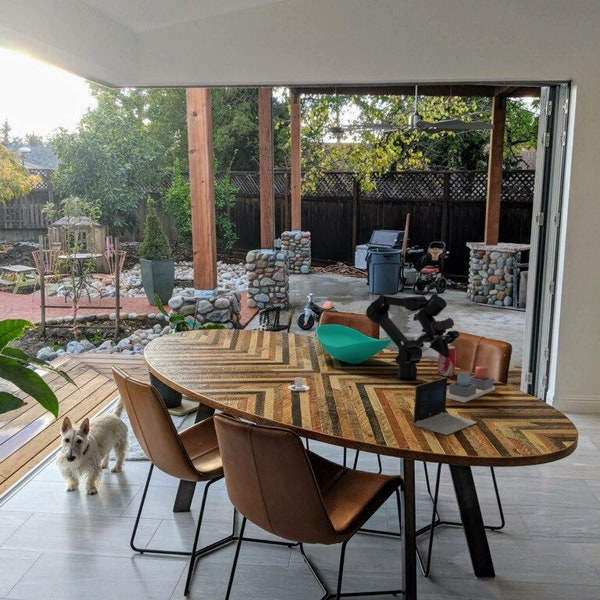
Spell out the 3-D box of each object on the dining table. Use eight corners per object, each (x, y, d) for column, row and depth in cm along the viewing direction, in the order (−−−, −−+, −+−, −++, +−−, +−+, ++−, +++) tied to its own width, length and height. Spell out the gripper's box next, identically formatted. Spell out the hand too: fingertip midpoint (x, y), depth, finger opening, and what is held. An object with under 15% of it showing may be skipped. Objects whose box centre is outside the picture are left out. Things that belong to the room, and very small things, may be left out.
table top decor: (406, 367, 278) (408, 337, 276) (358, 375, 261) (360, 343, 260) (346, 349, 309) (347, 322, 307) (299, 355, 293) (300, 327, 291)
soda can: (454, 377, 264) (457, 349, 262) (437, 376, 266) (439, 347, 264) (454, 373, 271) (456, 345, 269) (437, 372, 272) (439, 344, 271)
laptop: (446, 436, 196) (449, 395, 194) (412, 425, 204) (415, 385, 202) (477, 424, 208) (480, 385, 206) (444, 414, 217) (446, 376, 215)
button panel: (439, 396, 237) (440, 383, 236) (470, 384, 255) (471, 372, 254) (464, 402, 230) (465, 388, 230) (494, 390, 248) (495, 377, 247)
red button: (472, 380, 246) (473, 367, 245) (478, 378, 249) (479, 365, 248) (483, 383, 243) (484, 369, 242) (488, 381, 246) (489, 367, 246)
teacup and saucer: (304, 393, 235) (304, 382, 235) (283, 390, 238) (284, 380, 237) (312, 387, 243) (312, 377, 243) (292, 385, 246) (292, 374, 246)
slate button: (454, 387, 236) (455, 373, 235) (460, 385, 239) (461, 371, 238) (465, 389, 233) (466, 375, 232) (471, 387, 236) (472, 373, 235)
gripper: (422, 312, 238) (443, 347, 230) (457, 309, 248) (478, 343, 241) (406, 330, 245) (425, 364, 238) (441, 326, 256) (460, 359, 248)
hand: (448, 357), depth 241 cm, fingers closed
